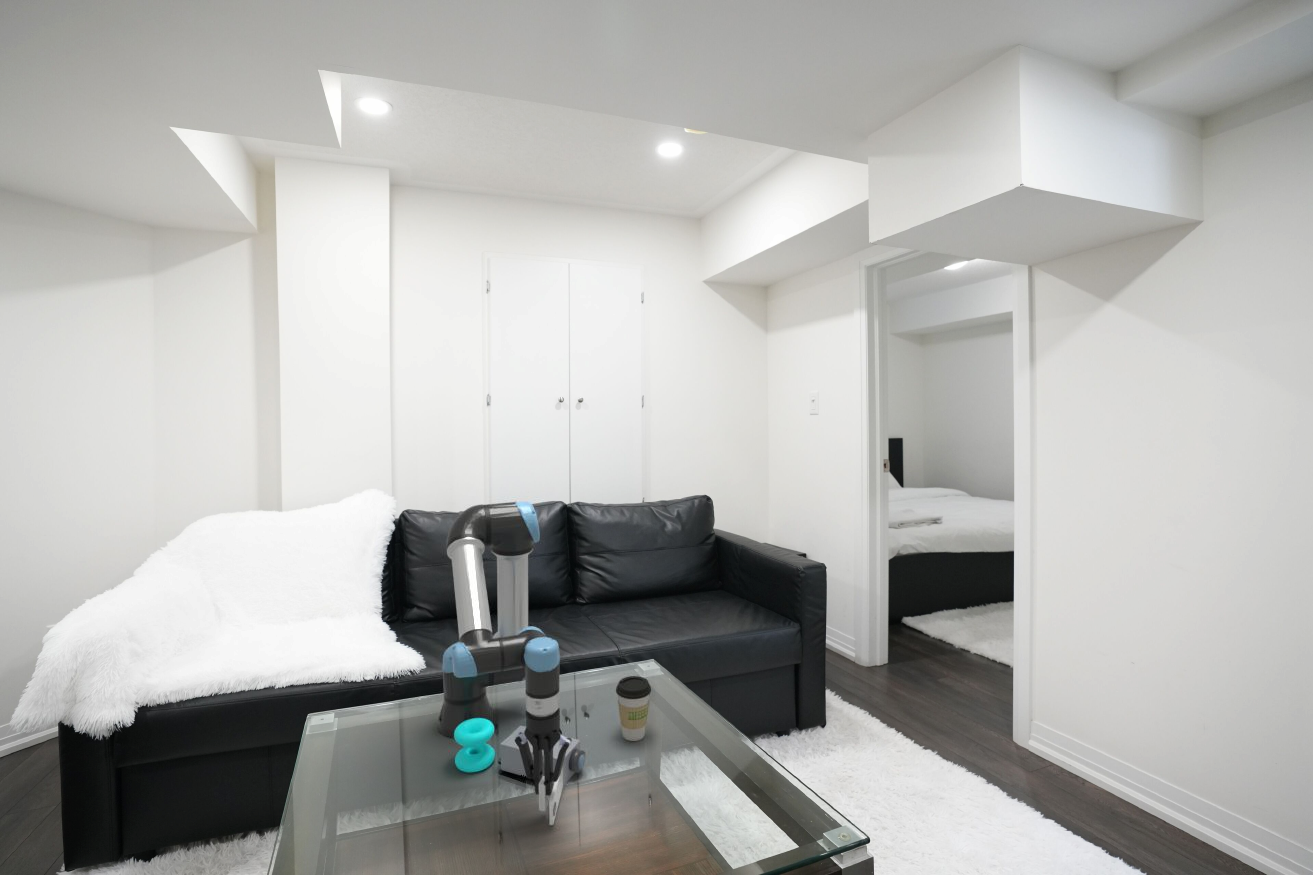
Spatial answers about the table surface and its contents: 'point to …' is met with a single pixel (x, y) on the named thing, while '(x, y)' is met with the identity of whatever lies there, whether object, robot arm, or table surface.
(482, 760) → the donuts
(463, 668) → the robot arm
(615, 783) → the table surface
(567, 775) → the grey boxy piece
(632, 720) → the coffee cup
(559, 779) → the side door
